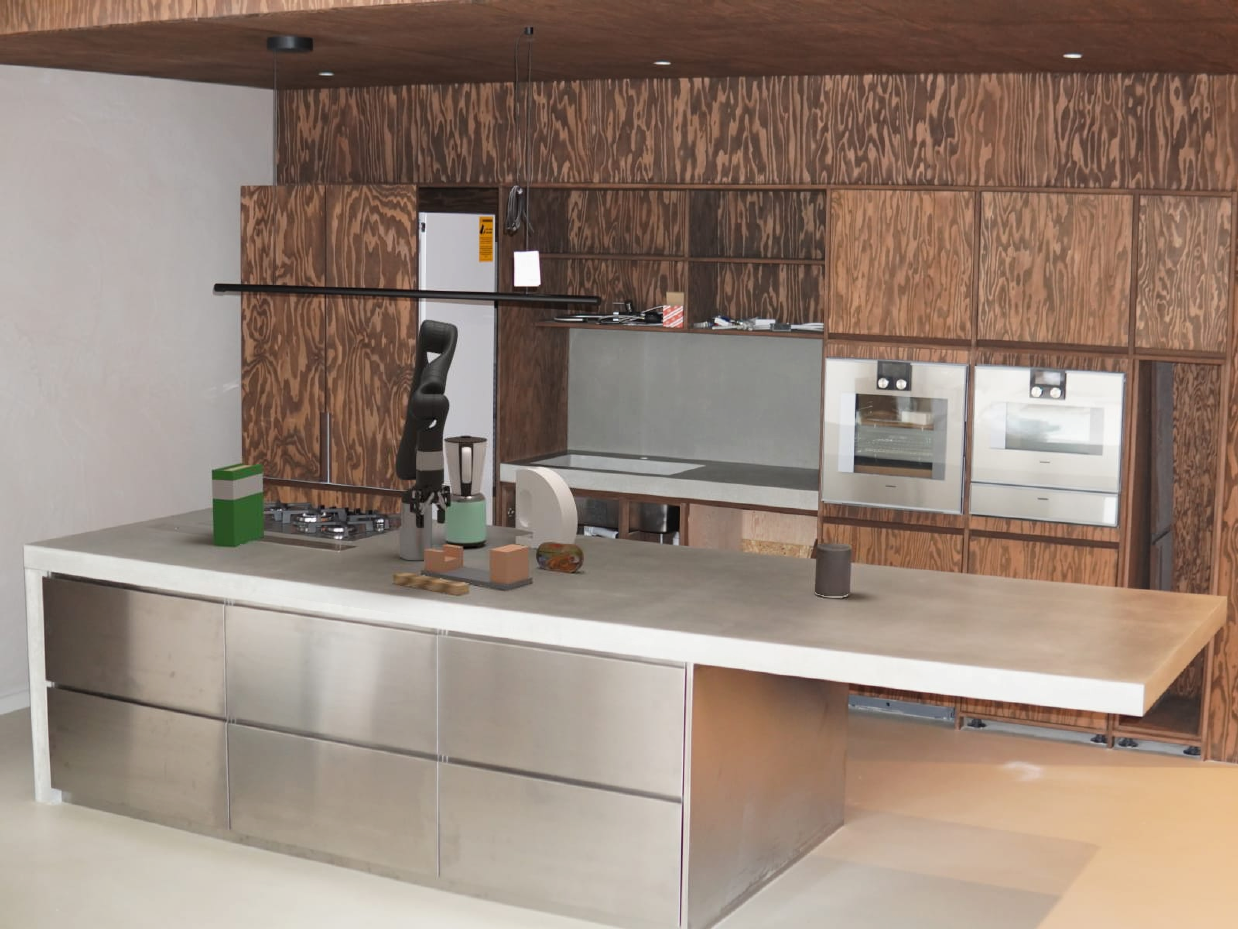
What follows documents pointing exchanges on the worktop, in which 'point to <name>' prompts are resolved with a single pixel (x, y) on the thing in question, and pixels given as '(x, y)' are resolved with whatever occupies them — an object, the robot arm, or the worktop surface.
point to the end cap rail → (504, 569)
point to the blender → (465, 492)
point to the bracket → (544, 508)
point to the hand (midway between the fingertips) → (430, 525)
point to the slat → (431, 583)
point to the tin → (559, 557)
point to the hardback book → (237, 504)
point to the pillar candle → (833, 569)
